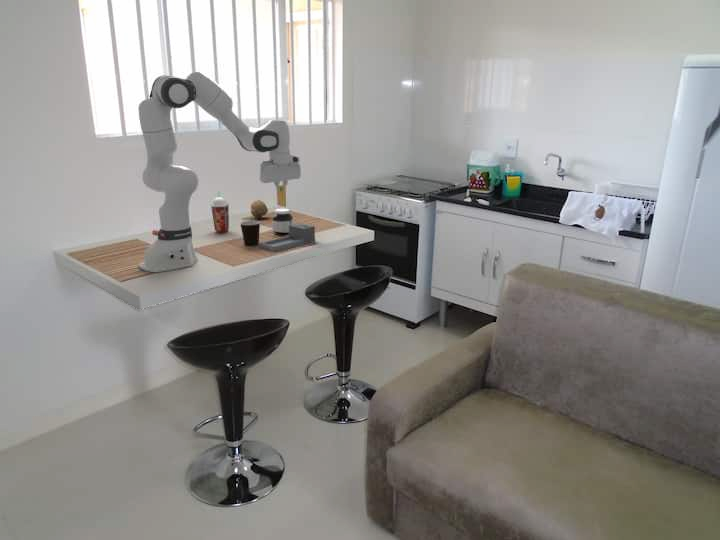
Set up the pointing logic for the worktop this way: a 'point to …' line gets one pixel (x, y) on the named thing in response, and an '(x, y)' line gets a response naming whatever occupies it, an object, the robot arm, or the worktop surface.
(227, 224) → the smoothie
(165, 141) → the robot arm
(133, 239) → the worktop surface
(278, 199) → the ticket
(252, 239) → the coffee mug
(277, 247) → the dispenser
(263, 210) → the natural sponge
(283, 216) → the spread jar
